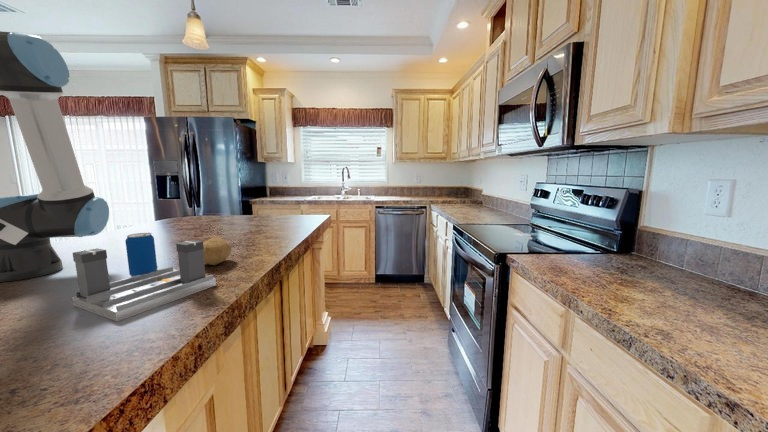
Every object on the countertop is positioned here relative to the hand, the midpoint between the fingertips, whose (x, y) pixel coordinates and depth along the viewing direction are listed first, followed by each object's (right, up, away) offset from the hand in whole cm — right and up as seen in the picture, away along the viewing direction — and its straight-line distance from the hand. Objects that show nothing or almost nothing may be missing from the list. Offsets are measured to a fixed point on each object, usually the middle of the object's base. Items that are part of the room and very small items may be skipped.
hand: (20, 238), depth 59 cm
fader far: (+21, -12, +20) cm, 31 cm away
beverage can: (0, -13, +31) cm, 34 cm away
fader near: (+4, -13, +11) cm, 18 cm away
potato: (+15, -12, +42) cm, 46 cm away
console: (+13, -15, +16) cm, 26 cm away
